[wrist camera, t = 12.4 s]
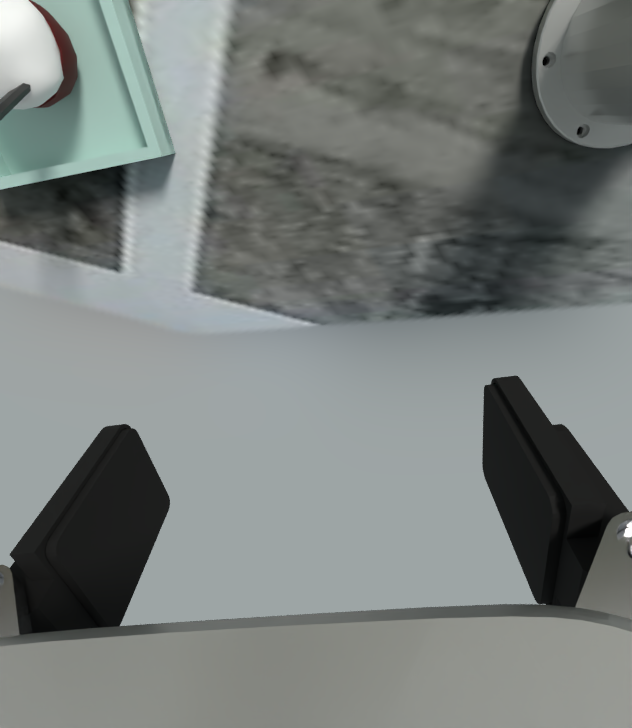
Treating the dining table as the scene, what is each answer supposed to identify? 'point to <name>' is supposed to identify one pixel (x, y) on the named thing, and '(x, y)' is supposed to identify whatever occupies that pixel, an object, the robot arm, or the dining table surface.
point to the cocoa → (33, 57)
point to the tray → (89, 103)
